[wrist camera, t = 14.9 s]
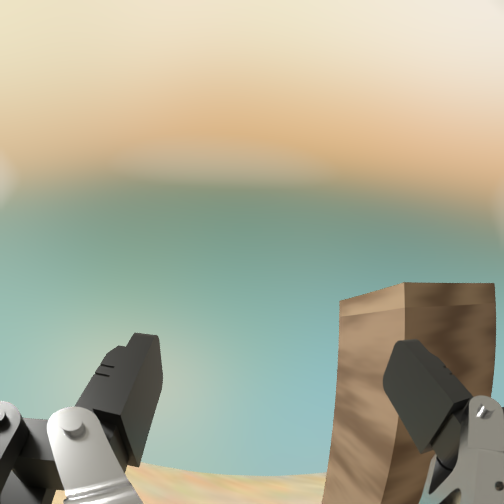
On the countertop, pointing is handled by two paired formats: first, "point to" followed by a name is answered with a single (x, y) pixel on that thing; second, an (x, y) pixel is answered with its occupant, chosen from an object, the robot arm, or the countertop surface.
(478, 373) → the walnut stand
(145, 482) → the countertop surface
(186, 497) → the countertop surface
